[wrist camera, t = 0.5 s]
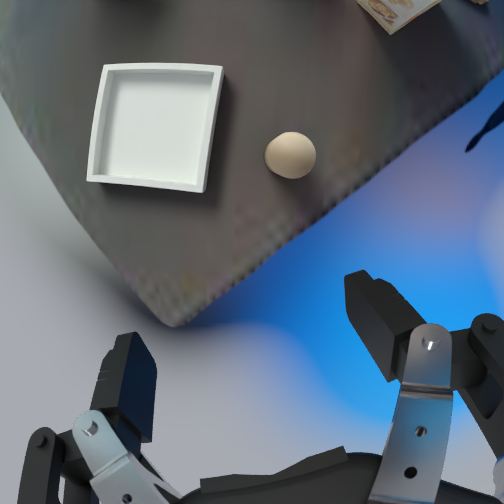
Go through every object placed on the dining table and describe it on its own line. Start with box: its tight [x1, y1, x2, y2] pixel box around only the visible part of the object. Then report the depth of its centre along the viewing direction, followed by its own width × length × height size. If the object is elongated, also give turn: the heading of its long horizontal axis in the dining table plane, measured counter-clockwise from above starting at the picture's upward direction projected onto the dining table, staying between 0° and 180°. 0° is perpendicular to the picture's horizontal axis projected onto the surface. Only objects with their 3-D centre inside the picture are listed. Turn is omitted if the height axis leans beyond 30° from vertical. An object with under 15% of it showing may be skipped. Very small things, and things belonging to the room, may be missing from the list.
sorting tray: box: [87, 63, 224, 193], centre depth 32 cm, size 15×15×3 cm
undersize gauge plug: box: [264, 132, 316, 179], centre depth 31 cm, size 4×4×9 cm
